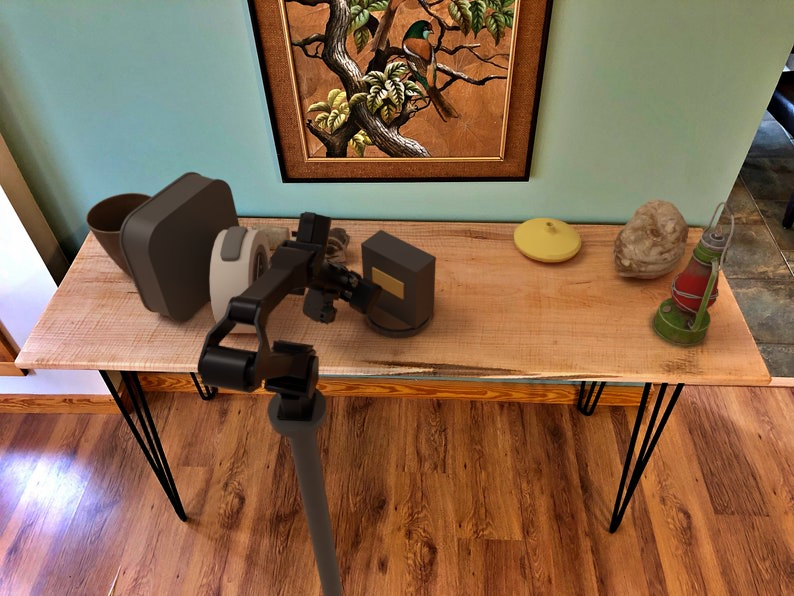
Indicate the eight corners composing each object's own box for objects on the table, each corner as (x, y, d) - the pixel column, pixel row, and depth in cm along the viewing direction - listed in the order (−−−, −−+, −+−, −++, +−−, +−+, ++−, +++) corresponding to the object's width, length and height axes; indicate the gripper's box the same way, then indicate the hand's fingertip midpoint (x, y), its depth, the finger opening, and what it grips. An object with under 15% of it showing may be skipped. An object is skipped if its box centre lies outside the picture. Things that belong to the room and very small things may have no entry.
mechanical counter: (297, 244, 142) (334, 246, 138) (322, 210, 150) (358, 211, 146) (308, 267, 147) (344, 270, 143) (331, 233, 155) (366, 235, 150)
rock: (682, 295, 136) (705, 240, 126) (608, 288, 138) (624, 233, 128) (669, 246, 149) (689, 192, 139) (602, 240, 151) (616, 187, 141)
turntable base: (431, 339, 127) (431, 334, 126) (362, 337, 128) (362, 332, 127) (431, 293, 138) (431, 288, 136) (368, 291, 138) (368, 286, 137)
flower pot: (174, 243, 152) (157, 187, 141) (178, 281, 141) (160, 224, 130) (110, 256, 148) (86, 199, 138) (109, 296, 138) (84, 238, 127)
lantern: (645, 304, 134) (687, 185, 114) (695, 306, 133) (747, 187, 113) (659, 352, 124) (708, 230, 104) (714, 355, 123) (775, 233, 103)
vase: (593, 253, 147) (599, 229, 142) (544, 278, 141) (549, 253, 136) (546, 221, 157) (550, 197, 152) (498, 243, 150) (501, 219, 146)
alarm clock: (258, 346, 126) (241, 272, 113) (222, 346, 126) (200, 272, 113) (275, 278, 142) (261, 205, 128) (242, 278, 142) (225, 205, 129)
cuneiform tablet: (299, 259, 147) (249, 254, 148) (304, 250, 151) (256, 246, 152) (297, 231, 143) (247, 227, 144) (302, 223, 147) (253, 219, 148)
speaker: (176, 332, 129) (141, 235, 112) (144, 319, 132) (105, 223, 115) (247, 263, 146) (226, 170, 129) (218, 253, 149) (194, 160, 132)
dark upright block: (404, 340, 124) (404, 282, 114) (353, 310, 131) (348, 252, 121) (443, 306, 132) (446, 248, 121) (392, 279, 138) (391, 221, 128)
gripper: (263, 291, 119) (310, 303, 133) (333, 336, 110) (376, 343, 124) (288, 239, 118) (333, 256, 132) (361, 280, 109) (401, 293, 123)
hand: (359, 287), depth 128 cm, fingers closed
